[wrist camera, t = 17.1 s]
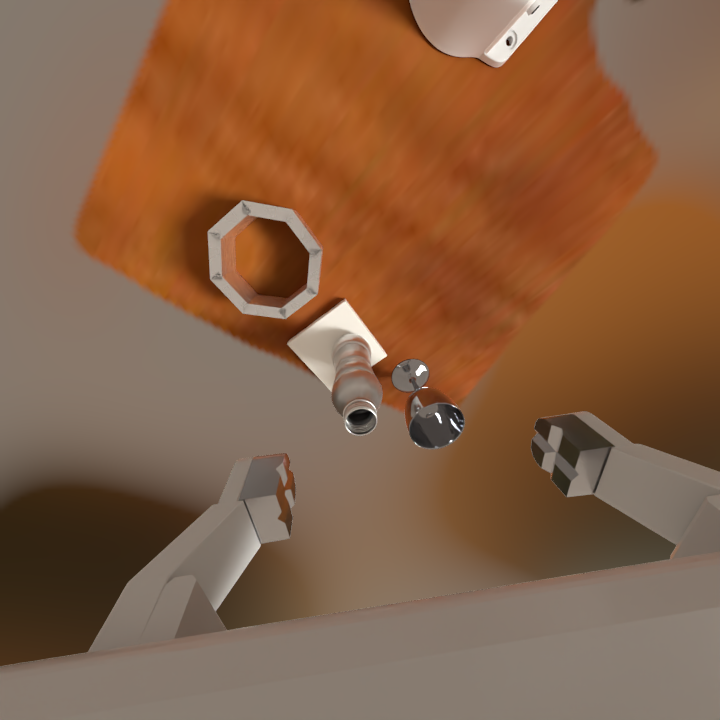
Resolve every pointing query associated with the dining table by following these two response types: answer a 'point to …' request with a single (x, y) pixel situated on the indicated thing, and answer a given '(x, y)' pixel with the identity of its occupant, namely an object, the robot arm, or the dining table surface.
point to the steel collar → (235, 284)
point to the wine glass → (427, 407)
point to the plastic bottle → (355, 384)
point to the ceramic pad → (331, 340)
